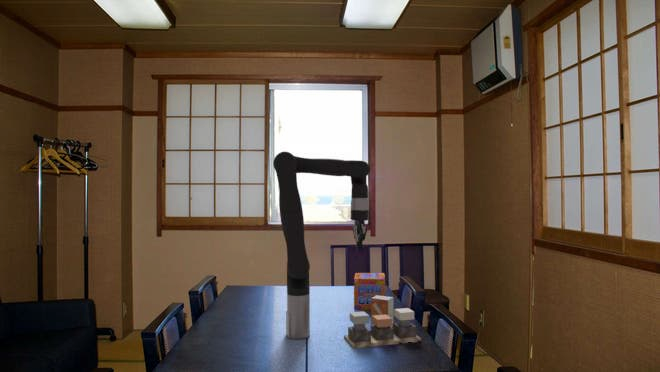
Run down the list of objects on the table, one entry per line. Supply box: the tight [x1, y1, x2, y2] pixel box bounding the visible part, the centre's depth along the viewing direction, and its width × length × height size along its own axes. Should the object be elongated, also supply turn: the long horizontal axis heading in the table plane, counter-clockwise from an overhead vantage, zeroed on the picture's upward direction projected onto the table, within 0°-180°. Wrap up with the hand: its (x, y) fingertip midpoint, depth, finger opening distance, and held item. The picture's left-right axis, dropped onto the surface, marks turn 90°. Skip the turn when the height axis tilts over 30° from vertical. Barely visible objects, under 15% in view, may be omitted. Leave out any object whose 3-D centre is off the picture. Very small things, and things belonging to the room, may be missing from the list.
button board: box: [343, 322, 422, 349], centre depth 183 cm, size 28×12×5 cm, turn 105°
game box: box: [353, 272, 386, 311], centre depth 235 cm, size 16×16×16 cm
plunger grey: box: [349, 310, 370, 331], centre depth 181 cm, size 6×6×7 cm
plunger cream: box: [393, 307, 415, 327], centre depth 186 cm, size 6×6×7 cm
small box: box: [370, 295, 395, 327], centre depth 199 cm, size 8×6×13 cm
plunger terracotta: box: [372, 315, 392, 329], centre depth 183 cm, size 6×6×7 cm
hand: (359, 250), depth 193 cm, fingers closed
